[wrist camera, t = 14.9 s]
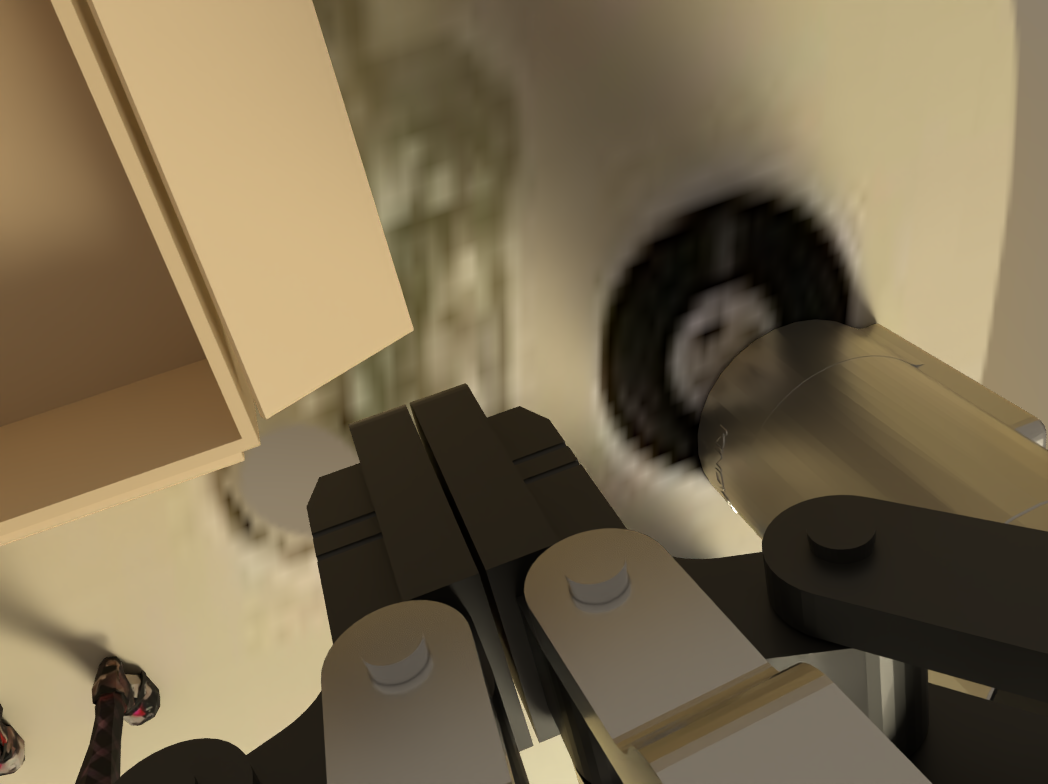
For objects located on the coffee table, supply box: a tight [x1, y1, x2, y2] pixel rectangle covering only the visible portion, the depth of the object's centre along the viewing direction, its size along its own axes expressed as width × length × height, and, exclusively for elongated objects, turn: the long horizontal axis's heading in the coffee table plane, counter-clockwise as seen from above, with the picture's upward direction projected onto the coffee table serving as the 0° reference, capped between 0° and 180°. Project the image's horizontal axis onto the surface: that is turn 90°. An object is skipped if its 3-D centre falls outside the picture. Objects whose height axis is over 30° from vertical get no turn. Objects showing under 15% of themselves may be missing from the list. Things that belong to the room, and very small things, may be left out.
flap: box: [87, 0, 414, 419], centre depth 26 cm, size 1×13×6 cm
